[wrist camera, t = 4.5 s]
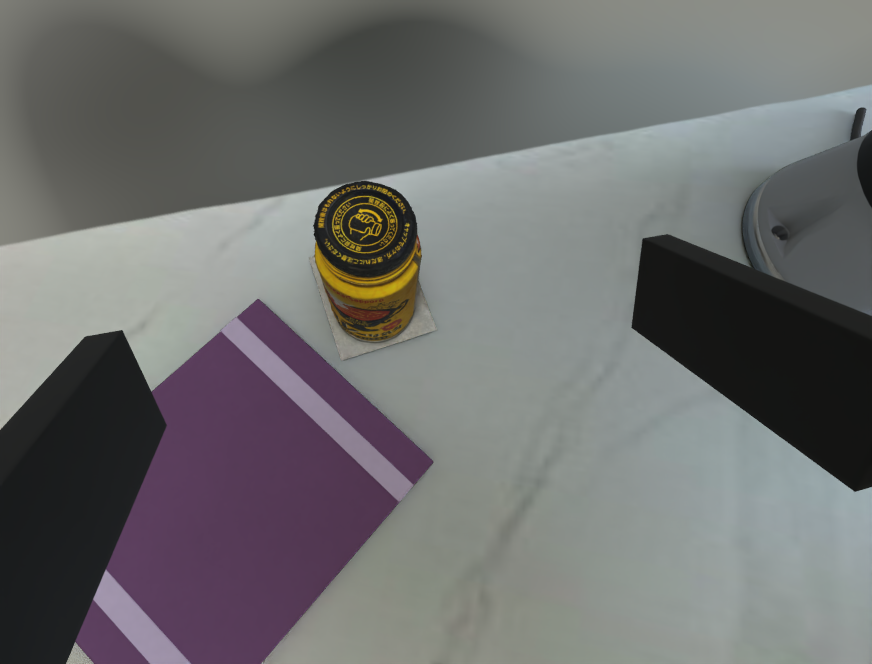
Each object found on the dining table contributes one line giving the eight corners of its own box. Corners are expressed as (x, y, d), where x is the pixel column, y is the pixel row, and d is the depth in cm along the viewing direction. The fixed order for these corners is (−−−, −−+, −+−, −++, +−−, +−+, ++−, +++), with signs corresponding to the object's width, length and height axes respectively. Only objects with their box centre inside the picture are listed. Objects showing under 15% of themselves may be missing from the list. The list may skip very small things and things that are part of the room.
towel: (260, 301, 34) (257, 297, 33) (433, 461, 32) (434, 461, 31) (-8, 536, 28) (-18, 537, 27) (182, 754, 26) (176, 761, 25)
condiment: (341, 361, 33) (316, 300, 22) (309, 258, 35) (271, 154, 24) (436, 331, 35) (460, 258, 23) (400, 233, 37) (405, 124, 25)
